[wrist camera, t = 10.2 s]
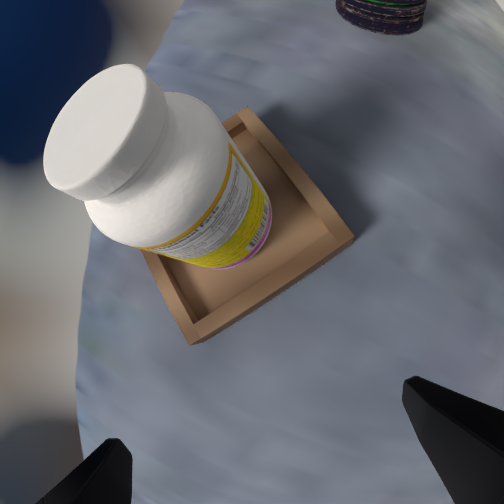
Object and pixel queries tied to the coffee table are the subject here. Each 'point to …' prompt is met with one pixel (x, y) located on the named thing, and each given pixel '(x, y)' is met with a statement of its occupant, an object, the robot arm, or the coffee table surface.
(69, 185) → the supplement bottle
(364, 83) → the coffee table surface
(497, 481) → the robot arm
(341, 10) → the storage jar
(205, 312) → the walnut tray
